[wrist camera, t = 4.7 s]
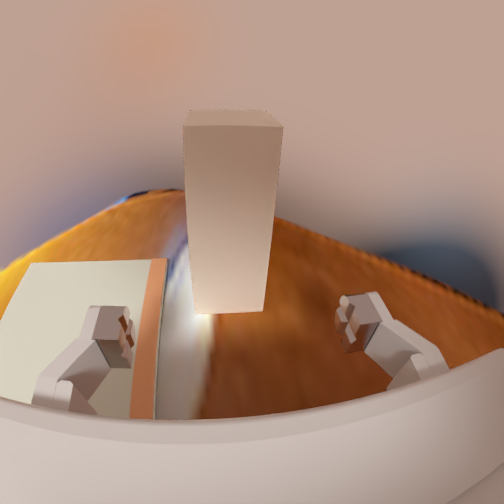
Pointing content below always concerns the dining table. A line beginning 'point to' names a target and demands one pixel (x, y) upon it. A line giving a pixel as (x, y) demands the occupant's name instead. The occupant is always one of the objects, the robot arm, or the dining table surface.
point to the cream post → (230, 205)
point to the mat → (71, 322)
